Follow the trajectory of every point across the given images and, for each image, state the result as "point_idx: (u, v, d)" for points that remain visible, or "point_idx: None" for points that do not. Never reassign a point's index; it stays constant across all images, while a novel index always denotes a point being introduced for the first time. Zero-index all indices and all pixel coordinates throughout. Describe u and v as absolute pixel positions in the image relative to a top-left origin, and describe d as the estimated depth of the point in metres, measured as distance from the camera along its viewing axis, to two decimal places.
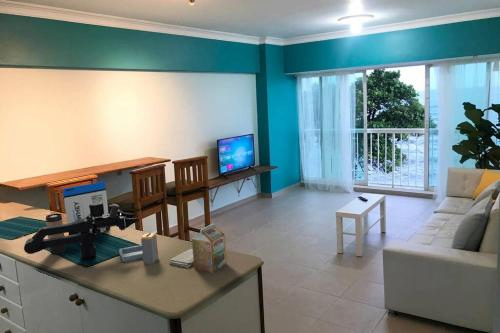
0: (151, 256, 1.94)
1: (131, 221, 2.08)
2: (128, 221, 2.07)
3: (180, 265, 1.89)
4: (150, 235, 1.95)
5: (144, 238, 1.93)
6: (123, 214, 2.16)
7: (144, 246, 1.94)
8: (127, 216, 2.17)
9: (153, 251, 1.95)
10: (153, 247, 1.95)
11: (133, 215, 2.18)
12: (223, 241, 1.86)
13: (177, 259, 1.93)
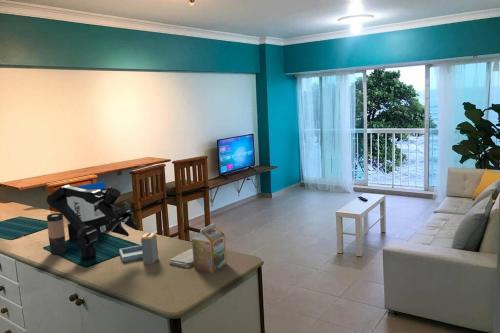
0: (151, 256, 1.94)
1: (121, 231, 1.92)
2: (119, 229, 1.92)
3: (180, 265, 1.89)
4: (150, 235, 1.95)
5: (144, 238, 1.93)
6: (130, 219, 2.02)
7: (144, 246, 1.94)
8: (131, 223, 2.02)
9: (153, 251, 1.95)
10: (153, 247, 1.95)
11: (135, 228, 2.02)
12: (223, 241, 1.86)
13: (177, 259, 1.93)
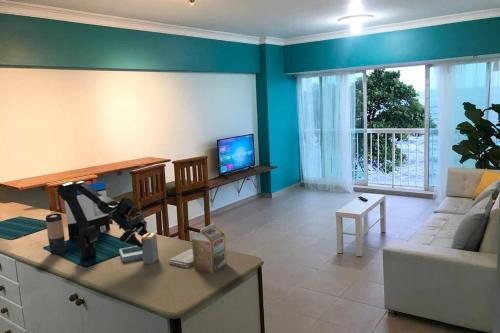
0: (151, 256, 1.94)
1: (135, 242, 1.91)
2: (133, 239, 1.91)
3: (179, 265, 1.89)
4: (150, 235, 1.95)
5: (144, 238, 1.93)
6: (143, 229, 2.01)
7: (144, 246, 1.94)
8: (144, 234, 2.01)
9: (153, 251, 1.95)
10: (153, 247, 1.95)
11: None
12: (223, 241, 1.86)
13: (177, 259, 1.93)
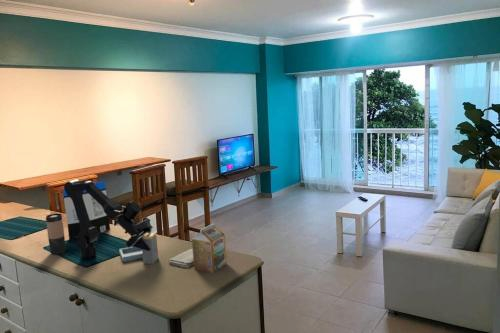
0: (151, 256, 1.94)
1: (142, 246, 1.92)
2: (140, 243, 1.92)
3: (179, 265, 1.89)
4: (150, 235, 1.95)
5: (144, 238, 1.93)
6: None
7: None
8: None
9: (153, 251, 1.95)
10: (153, 247, 1.95)
11: None
12: (223, 241, 1.86)
13: (176, 259, 1.93)
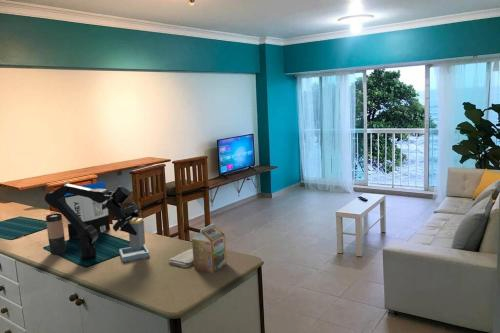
0: (137, 240, 1.98)
1: (129, 230, 1.97)
2: (127, 227, 1.97)
3: (179, 265, 1.89)
4: (137, 220, 1.99)
5: (131, 222, 1.97)
6: None
7: None
8: None
9: (140, 236, 1.99)
10: (140, 232, 1.99)
11: None
12: (223, 241, 1.86)
13: (176, 259, 1.93)
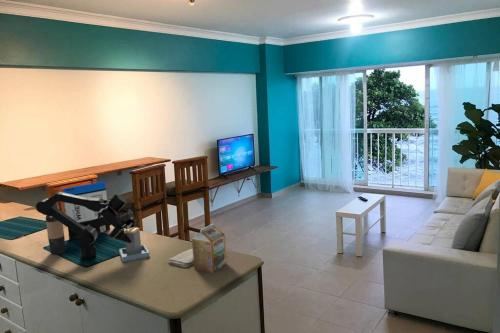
0: (134, 250, 2.02)
1: (124, 238, 1.99)
2: (122, 236, 1.99)
3: (178, 265, 1.90)
4: (133, 229, 2.03)
5: (127, 232, 2.01)
6: (132, 226, 2.09)
7: None
8: None
9: (136, 245, 2.03)
10: (136, 241, 2.03)
11: None
12: (223, 241, 1.86)
13: (176, 259, 1.93)
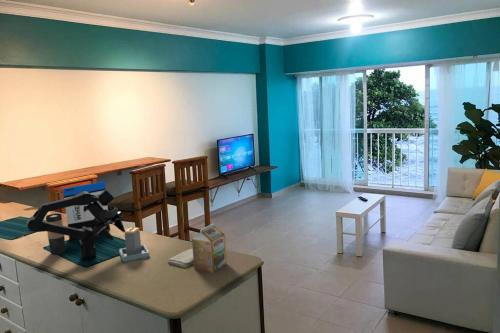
0: (134, 250, 2.02)
1: (106, 235, 2.01)
2: (104, 233, 2.01)
3: (178, 265, 1.90)
4: (133, 229, 2.03)
5: (127, 232, 2.01)
6: (118, 221, 2.10)
7: (127, 240, 2.02)
8: (119, 225, 2.10)
9: (136, 245, 2.03)
10: (136, 241, 2.03)
11: (123, 230, 2.10)
12: (223, 241, 1.86)
13: (175, 258, 1.93)
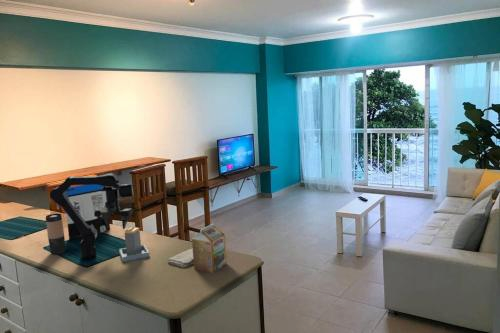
0: (134, 250, 2.02)
1: None
2: None
3: (177, 265, 1.90)
4: (133, 229, 2.03)
5: (127, 232, 2.01)
6: None
7: (127, 240, 2.02)
8: None
9: (136, 245, 2.03)
10: (136, 241, 2.03)
11: None
12: (223, 241, 1.86)
13: (175, 258, 1.93)
